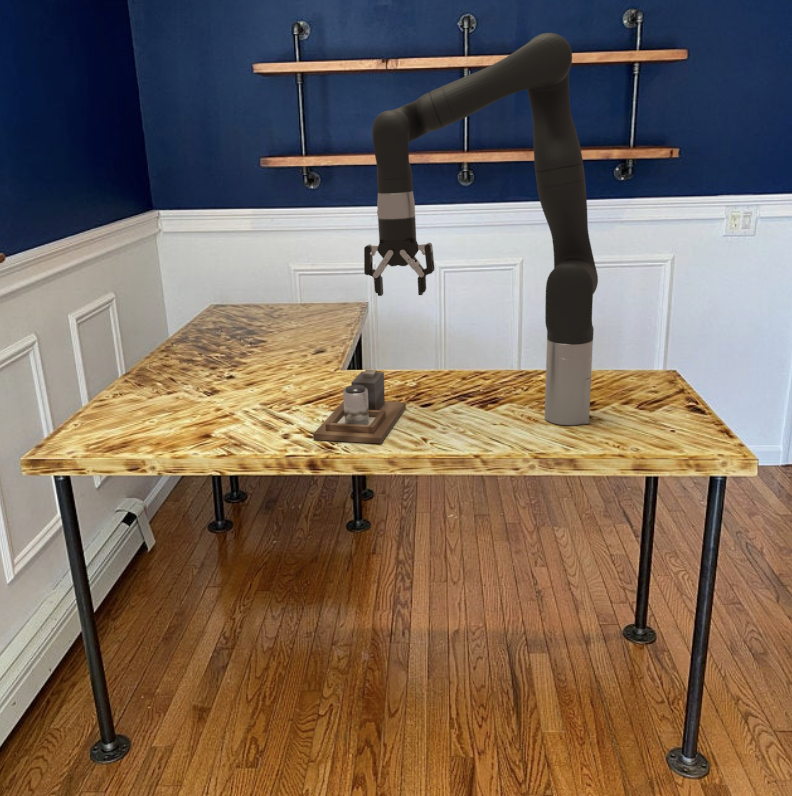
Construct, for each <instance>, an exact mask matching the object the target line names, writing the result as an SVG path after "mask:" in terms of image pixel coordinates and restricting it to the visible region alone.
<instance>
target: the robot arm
mask: <svg viewBox="0 0 792 796" xmlns="http://www.w3.org/2000/svg"><path fill="white" fill-rule="evenodd" d="M572 64H573V51H572V48H571V46H570V43H569V42H568V41H567V39H566V38H564V37H563V36H561V35H559V34H557V33H554V32H545V33H540V34H537V35H536V36H534V37H533V38H532V39H531V40H530V41H528V42H527V43H525V44H524V45H523V46H521V47H519V48H518V49H517V50H514V52H512V53H511V54H509V55H508V56H506V57H504V58H502V59H500V60H498V61H497V62H495V63H493V64H491V65H489V66H486V67H484V68H483V69H480V70H478V71H475V72H473V73H470V74H469V75H466V76H464V77H461V78H458V79H456V80H454V81H452V82H449V83H446V84H445V85H442V86H440V87H437V88H435V89H433V90H431V91H429V92H426V93H425V94H423V95H421V96H420V97H418V98H417V99H416V100H414V101H412V102H409V103H407V104H404V105H402V106H399V107H397V108H395V109H392V110H391V109H389V110H384V111H382V112H380V113H379V114H378V115H377V116H376V117H375V118H374V121H373V125H372V131H371V132H372V142H373V143H372V144H373V151H374V155H375V156H374V157H375V163H376V181H377V183H376V185H377V204H376V205H377V212H376V213H377V222H378V225H377V226H378V239H379V240H378V245H372V244H367V245H365V246H364V249H363V250H364V251H363V254H364V257H363V258H364V259H363V261H364V263H363V264H364V265H363V267H364V269H363V271H364V275H366V276H371V277H372V278H373V283H374V285H373V286H374V292H375V294H377V296H378V297H382V296H383V295H384V284H383V282H384V281H383V276H382V274H383V272H384V271H385V269H386V268H387V267H388V266H390V267H396V266H400V267H407V266H409V267H410V268H411V270H413V271H414V272H415V273H416V274H417V276H418V277H417V290H418V293H417V294H418V296H423V295H424V293H426V290H427V276H428V275H430V274H433V273H434V272H435V261H434V259H435V258H434V249H433V244H432V243H431V242H427V243H426V244H419V243H418V241H417V230H416V228H417V226H416V223H417V222H416V205H415V197H414V189H413V187H414V186H413V171H412V166H411V163H410V151H409V150H410V149H409V143H411V142H413V141H415V140H417V139H418V138H421V137H423V136H424V135H427V134H428V133H431V132H435V131H438V130H440V129H442V128H446V127H447V126H450V125H453V124H454V123H456V122H459V121H462V120H463V119H465V118H467V117H469V116H471V115H473V114H475V113H476V112H479V111H480V110H482V109H484V108H486V107H487V106H489V105H491V104H493V103H495V102H497V101H499V100H501V99H504V98H506V97H508V96H510V95H512V94H516V93H519V92H522V91H525V90H526V91H527V94H528V98H529V104H530V109H531V115H532V122H533V123H532V125H533V126H532V127H533V130H532V131H533V134H532V135H533V137H532V138H533V139H532V140H533V144H532V145H533V162H534V172H535V180H536V188H537V195H538V199H539V202H540V206H541V208H542V211H543V214H544V216H545V220H546V223H547V226H548V228H549V230H550V235H551V239H552V250H553V269H552V270H551V271H550V273H549V275H548V277H547V279H546V283H545V308H544V309H545V311H544V312H545V313H544V314H545V315H544V317H545V327H546V355H545V356H546V363H545V388H544V389H545V396H544V419H545V420H546V421H547V422H549V423H552V424H555V425H561V426H578V425H584V424H585V425H589V424H590V409H591V391H592V390H591V389H592V387H591V386H592V370H593V369H592V365H593V349H594V348H593V346H594V343H593V342H594V331H595V330H594V325H593V301H594V300H593V299H594V294H595V292H596V291H597V288H598V284H599V276H598V270H597V266H596V263H595V262H596V261H595V259H594V254H593V250H592V244H591V240H590V236H589V235H590V234H589V227H588V226H589V224H588V201H587V187H586V185H587V184H586V176H585V168H584V160H583V155H582V148H581V144H580V140H579V137H578V134H577V129H576V126H575V123H574V120H573V116H572V111H571V103H570V101H571V100H570V81H569V80H570V69H571V67H572ZM419 251H420V252H421V255H423V256H425V266H426V268H424V266H423V265H422V264H421V262H420V261H419V260H418V259H417V257H416V255H417V253H418V252H419ZM376 253H378V254H379V255H380V256H381V258H382V260H381V261H380V262H379V264H378V266H377V267H376V269H374V268H373V266H374V265H373V262H374V261H373V257H374V256H376Z"/></svg>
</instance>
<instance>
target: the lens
mask: <svg viewBox="0 0 792 796" xmlns="http://www.w3.org/2000/svg"><path fill="white" fill-rule="evenodd" d="M342 394H343V395H342V396H343V401H344V415H345V424H358V425H367V424H368V423H369V407H368V389H367V388H365V387H364V386H362V385H352V384H351V385H348V386H346V387H345V388H344V389H343V390H342Z"/></svg>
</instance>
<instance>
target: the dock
mask: <svg viewBox="0 0 792 796" xmlns="http://www.w3.org/2000/svg"><path fill="white" fill-rule="evenodd" d="M351 385H362V386H364V387H365V388H367V389H368V407H369V423H368V424H367V425H358V424H345V415H344V400H343V401H342V402H341V403H340V404H339V405H338V406H337V407H336V408H335V409H334V411H333V412H332V413H331V414H330V415H329V416H328V417H327V418H326V419H325V420H324V422H322V423H321V425H319V427H318V428H317V429H316V430H315V431H314V432H313V433H312V437H313V440H317V441H319V440H320V441H333V442H335V441H337V442H348V443H349V442H350V443H365V444H366V443H367V444H382V443H383V442H384V440H385V438H386V437H387V436H388V434H389V433H390V431H391V430H392V428H393V427H394V426H395V424H396V423H397V421H398V419H400V417H401V415H402V414H403V412H404V411H405V409H406V408H407V405H406V402H405V401H403V402H402V401H387V400H385V398H386V397H385V395H386V394H385V373H384V371H383V372H380V371H379V372H378V370H377V369H365V370H364V371H360V373H359V374H358V375H357V376H356V377H355V378H354V379H353V380H352V381H351Z"/></svg>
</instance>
